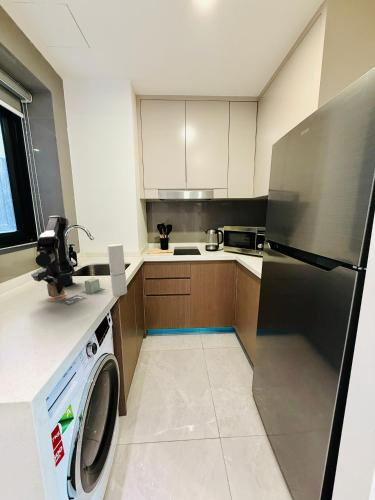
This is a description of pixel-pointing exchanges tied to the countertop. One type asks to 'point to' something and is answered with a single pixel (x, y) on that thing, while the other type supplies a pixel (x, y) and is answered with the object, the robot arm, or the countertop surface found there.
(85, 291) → the code tile
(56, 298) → the coaster
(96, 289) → the sage block
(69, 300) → the tile
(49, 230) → the robot arm
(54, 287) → the walnut block
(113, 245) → the tall white block
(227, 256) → the countertop surface
